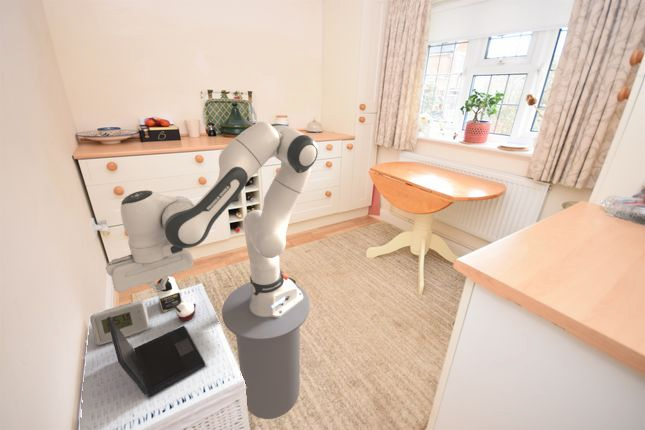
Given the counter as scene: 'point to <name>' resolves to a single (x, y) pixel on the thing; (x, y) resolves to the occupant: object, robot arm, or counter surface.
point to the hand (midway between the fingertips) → (159, 290)
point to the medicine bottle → (169, 295)
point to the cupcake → (184, 310)
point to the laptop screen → (126, 356)
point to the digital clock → (120, 321)
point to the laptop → (168, 359)
